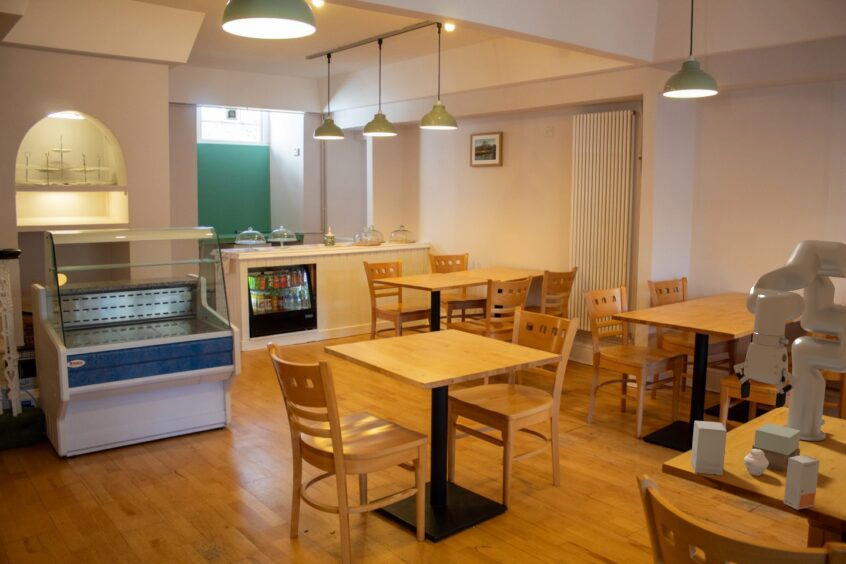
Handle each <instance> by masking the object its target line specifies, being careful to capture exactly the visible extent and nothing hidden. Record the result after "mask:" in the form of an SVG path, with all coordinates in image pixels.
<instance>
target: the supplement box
mask: <svg viewBox="0 0 846 564" xmlns="http://www.w3.org/2000/svg"><path fill="white" fill-rule="evenodd" d="M726 443H727V429H726V428H725V426H724V425H723V423H722V422H718V421H717V422H716V421H705V420H704V421H702V420H694V423H693V435H692V444H691V445H692V447H691V459H690V464H691V467H692V468H693V470H694V473H699V474H705V475H707V474H708V475H714V474H716V475H717V476H723V475H724V466H725V453H726ZM716 475H715V476H716Z"/></svg>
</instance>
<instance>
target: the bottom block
mask: <svg viewBox="0 0 846 564" xmlns="http://www.w3.org/2000/svg"><path fill="white" fill-rule="evenodd" d="M752 449H760V450H762V451H763V452H764V456H765V457H766V459H767V460H768V462H769V465H768V466H767V468H769V469H771V470H772V469H773V470H775V471H779V472H781V473H783V471H784V472H786V471H787V467H788V459H789V458H790V457H795V456H801V449H800V448H798V449H796V450H795V451H793V452H792V453H791V454H789V455H784V454H780V453H777V452H773V451H769V450H765V449H761V448H757V447H754V444H753V445H752ZM752 449H751V450H752ZM785 470H786V471H785Z"/></svg>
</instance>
